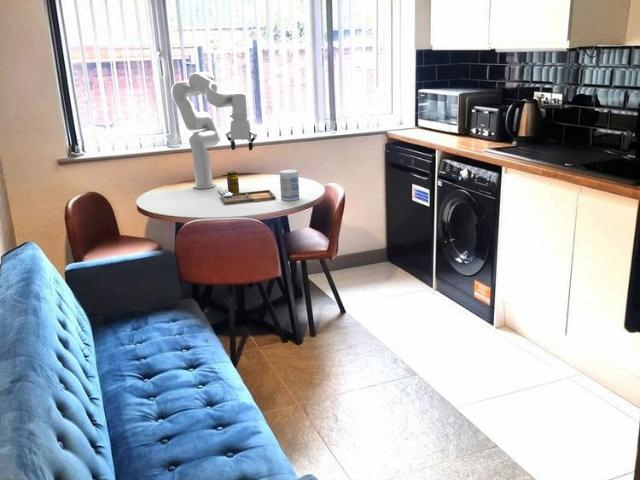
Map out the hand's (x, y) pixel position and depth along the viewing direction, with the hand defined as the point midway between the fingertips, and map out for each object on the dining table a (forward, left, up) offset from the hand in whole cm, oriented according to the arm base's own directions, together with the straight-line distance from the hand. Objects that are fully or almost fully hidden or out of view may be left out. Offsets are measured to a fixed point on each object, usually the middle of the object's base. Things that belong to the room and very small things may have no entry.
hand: (242, 149), depth 313 cm
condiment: (-5, -7, -25) cm, 26 cm away
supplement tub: (+20, +20, -24) cm, 37 cm away
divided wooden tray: (+9, 0, -24) cm, 26 cm away
